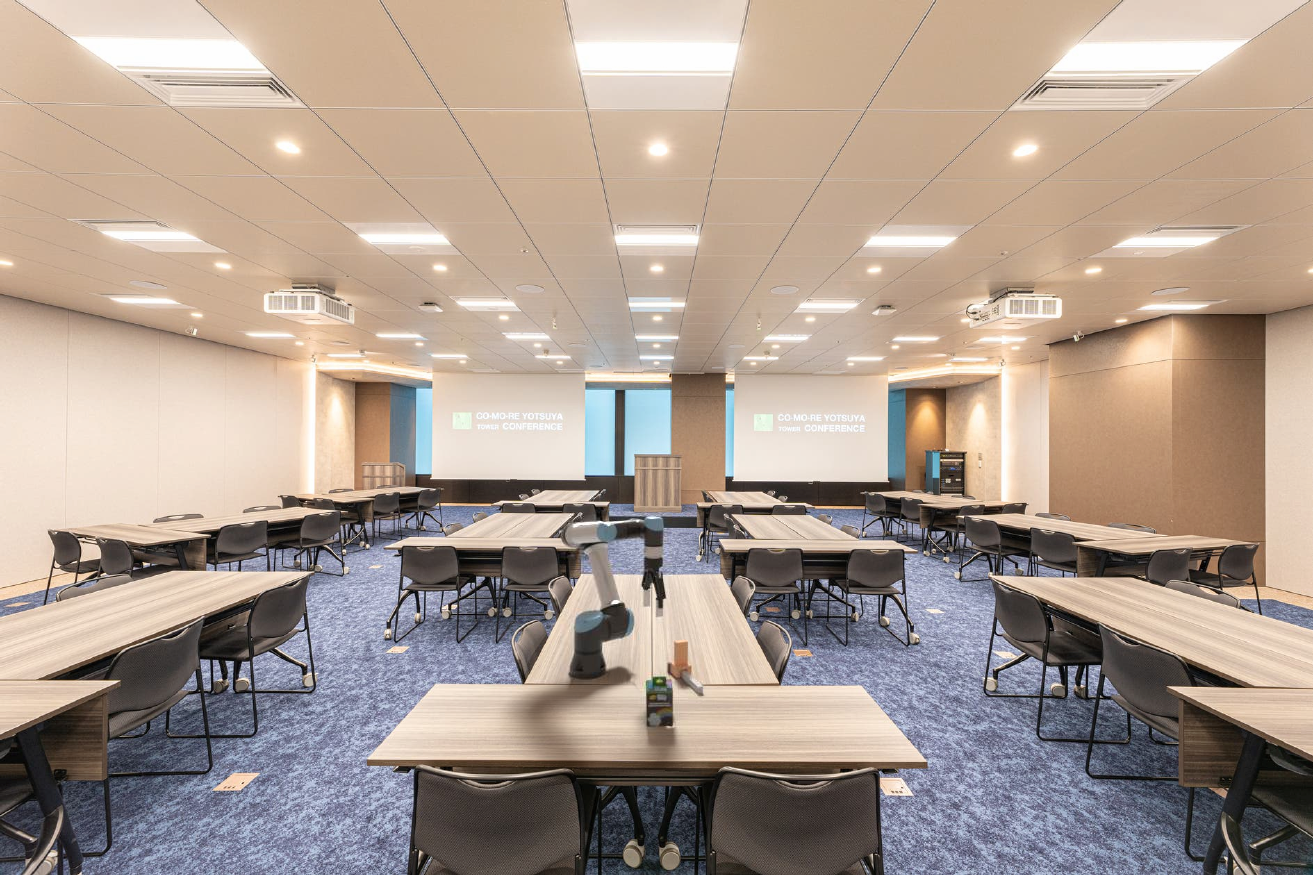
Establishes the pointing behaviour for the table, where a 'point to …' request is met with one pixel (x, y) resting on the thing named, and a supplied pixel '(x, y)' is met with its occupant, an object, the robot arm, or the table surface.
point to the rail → (689, 680)
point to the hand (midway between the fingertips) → (652, 611)
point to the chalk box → (659, 702)
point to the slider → (680, 658)
